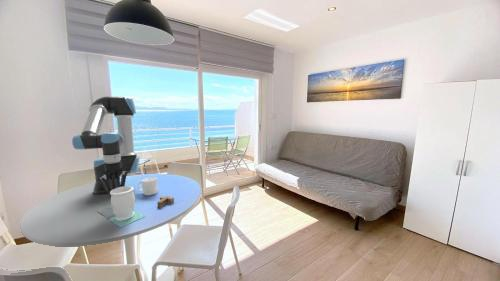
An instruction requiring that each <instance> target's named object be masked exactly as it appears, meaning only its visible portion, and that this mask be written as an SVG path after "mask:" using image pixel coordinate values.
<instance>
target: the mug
mask: <svg viewBox="0 0 500 281" xmlns="http://www.w3.org/2000/svg"><path fill="white" fill-rule="evenodd" d="M141 183H142V188H141ZM158 185H159V184H158V178H157V177H155V176H154V177H153V176H150V177H146V178H143V179H142V180H141V181H139V183H138V186H137V190H138V191H139V192H142V194H143V195H144V196H152V195H156V194H158V192H159V186H158Z"/></svg>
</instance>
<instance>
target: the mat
mask: <svg viewBox="0 0 500 281" xmlns="http://www.w3.org/2000/svg"><path fill="white" fill-rule="evenodd" d="M133 212H134V216H133V217H131V218H130V219H127V220H123V221H117V220H116V219H115V218H116V215H115V214H114V212H113V209H112V206H110V207H108V208H105V209H103V210H100V211H99V210H98V213H99V214H100V215H102V217H105V218H106V219H107V220H109V221H110V222H111V223H113V224H114V225H116V226H117V227H119V228H122V227H125V226H128V225H130V224H132V223H134V222H137V221H139V220H141V219H144V218H146V216H145V215H143V214H141V213H140V212H138V211H136V210H135V209H134V211H133Z"/></svg>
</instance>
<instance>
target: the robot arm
mask: <svg viewBox="0 0 500 281" xmlns="http://www.w3.org/2000/svg"><path fill="white" fill-rule="evenodd" d="M88 111H89V114H88V116H87V119H86V122H85V124H84V126H83V129H82V131H81V134H80V135H79V134H78V135H74V136H73V138H72V140H71V143H72V147H73V148H74V149H75V150H92V149H93V150H95V149H102V156H103V157H100V158H96V159H95V160H93V171H94V176H95V177H94V178H95V182H94V187H93V193H94V194H95V195H106V194H107V195H108V194H110V191H111V190H113V189H115V188H118V187H123V186H126V179H127V175H128V174H135V173H137V172H138V171H139V166H140V156H138V155H137V153H136V152H135V149H134V136H133V134H134V133H133V125H132V123H133V122H132V119H133V118H134V116H135V115H134V114H136V113H137V112H136V111H137V110H136V106H135V102H134V99H133V98H132V97H130V96H110V95H109V96H101V97H100V98H98V99H96V100H94V102H92V104H91V105H90V106H89V109H88ZM108 114H113V115H114V118H116V119H117V120H116V121H117V122H116V123H117V132H116V131H109V132H102V133H101V134H100V131H101V127H102V126H103V122H104V119H105V117H106V116H108Z"/></svg>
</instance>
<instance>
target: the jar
mask: <svg viewBox="0 0 500 281" xmlns="http://www.w3.org/2000/svg"><path fill="white" fill-rule="evenodd" d="M134 190H135V188H134V187H133V186H132V185H125V186H123V187H118V188H115V189H113V190H111V191H110V193H109V195H111V197H110V207H112V209H113V212H114V214H115V215H116V218H115V219H116V220H117V221H123V220H127V219H130V218H131V217H133V216H134V212H133V211H134V210H135V203H136V198H135V193H134Z"/></svg>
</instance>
